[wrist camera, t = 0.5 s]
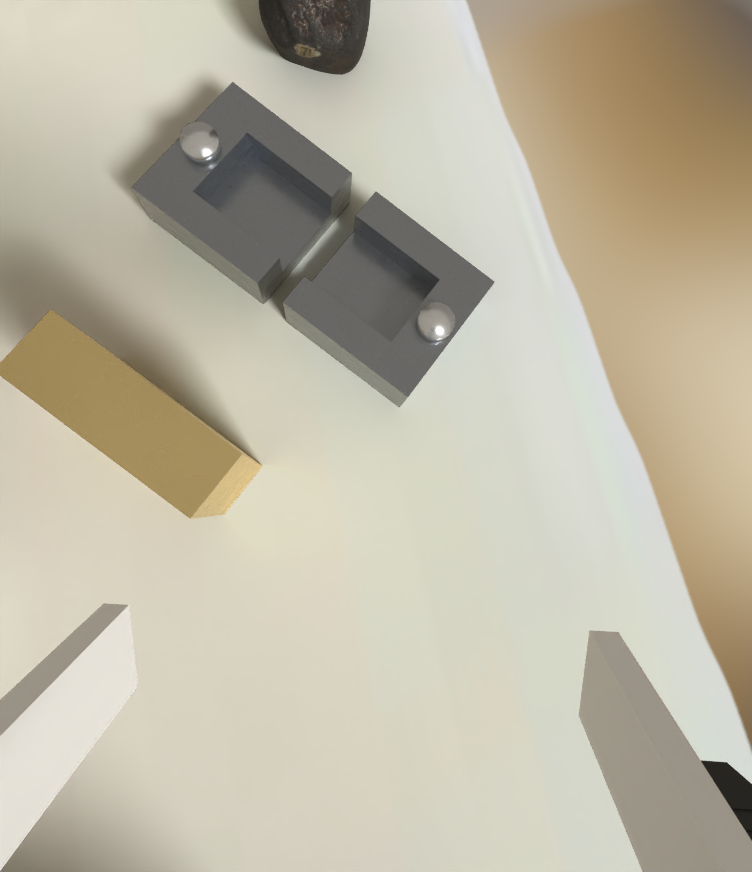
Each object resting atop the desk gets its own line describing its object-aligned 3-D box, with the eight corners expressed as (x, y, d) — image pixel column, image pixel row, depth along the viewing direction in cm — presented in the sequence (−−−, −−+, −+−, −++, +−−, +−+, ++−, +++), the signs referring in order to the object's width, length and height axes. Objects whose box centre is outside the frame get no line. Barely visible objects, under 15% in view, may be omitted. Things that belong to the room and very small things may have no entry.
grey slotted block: (399, 407, 36) (410, 394, 32) (149, 218, 36) (126, 179, 31) (478, 302, 37) (498, 276, 33) (240, 121, 37) (230, 72, 33)
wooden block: (224, 514, 34) (190, 518, 25) (79, 405, 34) (-7, 370, 25) (262, 466, 34) (242, 453, 25) (120, 359, 34) (50, 309, 25)
